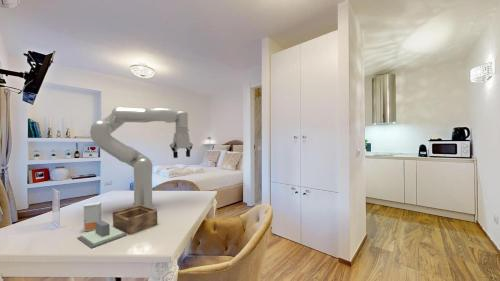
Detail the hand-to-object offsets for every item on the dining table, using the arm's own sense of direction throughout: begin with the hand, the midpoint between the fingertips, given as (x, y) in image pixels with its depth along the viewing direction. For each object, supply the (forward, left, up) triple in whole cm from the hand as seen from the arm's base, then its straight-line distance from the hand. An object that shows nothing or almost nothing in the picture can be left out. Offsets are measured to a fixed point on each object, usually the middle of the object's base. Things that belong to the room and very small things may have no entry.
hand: (182, 157), depth 133 cm
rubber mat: (+8, -48, -30) cm, 57 cm away
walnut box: (+8, -34, -30) cm, 46 cm away
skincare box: (-5, -47, -31) cm, 56 cm away
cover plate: (+8, -48, -30) cm, 57 cm away
